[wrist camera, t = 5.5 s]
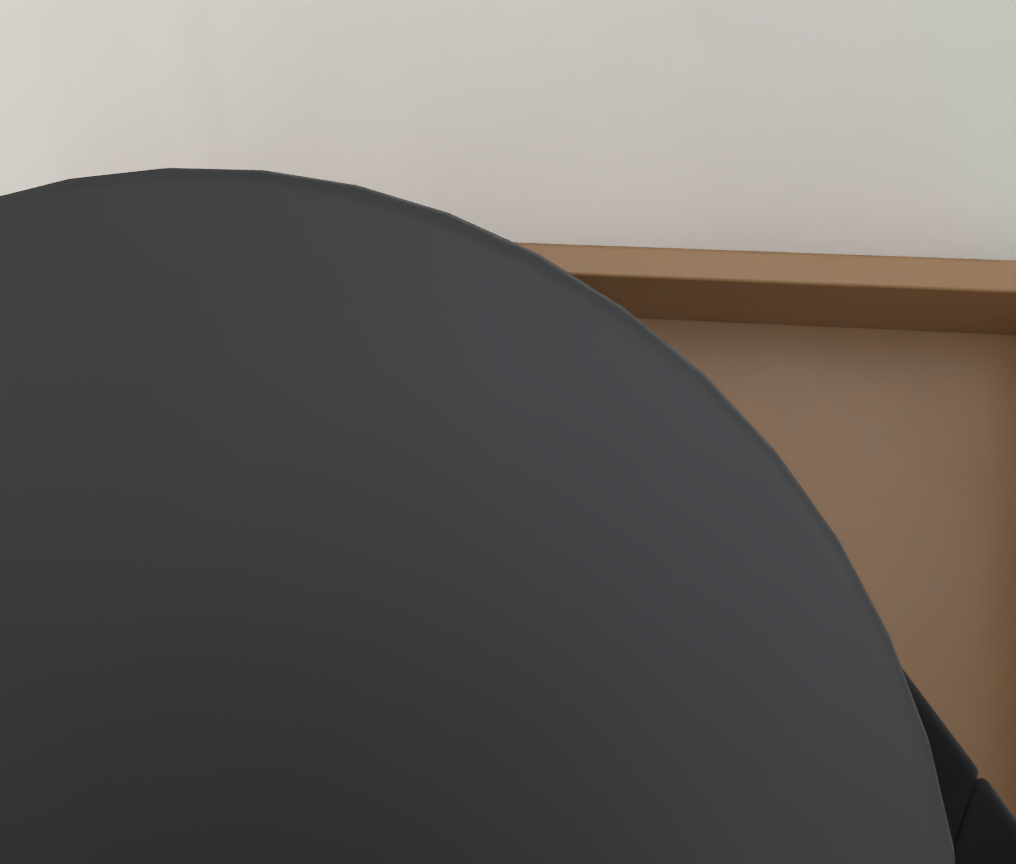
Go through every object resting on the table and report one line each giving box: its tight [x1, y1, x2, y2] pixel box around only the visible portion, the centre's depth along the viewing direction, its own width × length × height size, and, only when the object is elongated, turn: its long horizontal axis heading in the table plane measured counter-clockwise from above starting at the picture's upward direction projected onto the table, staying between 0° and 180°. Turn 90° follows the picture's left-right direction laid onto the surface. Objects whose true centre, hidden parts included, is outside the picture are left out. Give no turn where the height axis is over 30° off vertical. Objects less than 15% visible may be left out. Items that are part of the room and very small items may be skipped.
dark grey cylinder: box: [0, 168, 955, 864], centre depth 8 cm, size 5×5×12 cm
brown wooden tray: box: [515, 243, 1016, 818], centre depth 14 cm, size 16×22×4 cm
